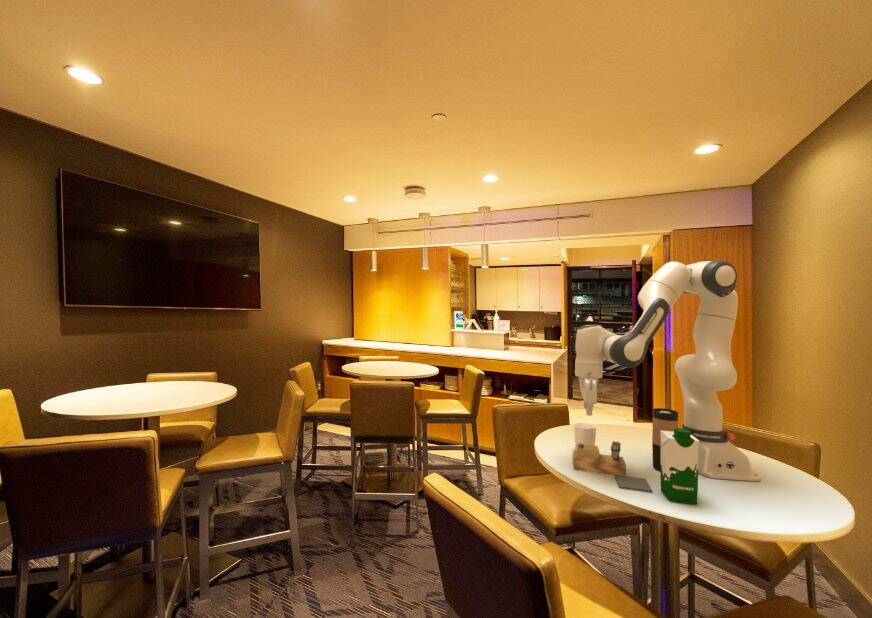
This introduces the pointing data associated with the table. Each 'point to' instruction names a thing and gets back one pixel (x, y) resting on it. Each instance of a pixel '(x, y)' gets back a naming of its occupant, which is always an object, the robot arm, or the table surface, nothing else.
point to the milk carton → (679, 466)
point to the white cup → (584, 434)
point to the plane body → (601, 464)
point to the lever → (615, 449)
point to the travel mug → (661, 422)
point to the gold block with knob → (587, 451)
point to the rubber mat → (633, 483)
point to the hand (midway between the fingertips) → (587, 411)
